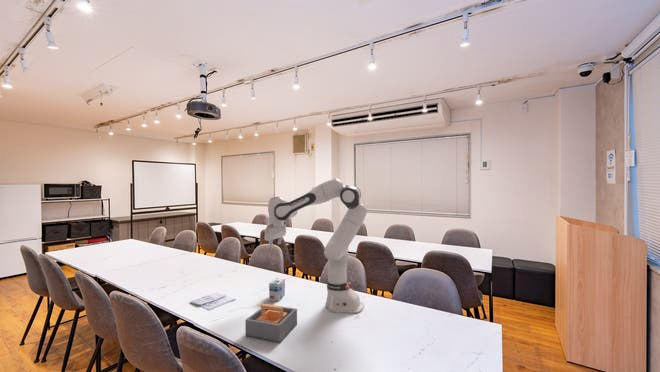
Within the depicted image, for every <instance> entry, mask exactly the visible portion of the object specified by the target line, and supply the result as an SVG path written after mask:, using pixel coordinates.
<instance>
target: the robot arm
mask: <svg viewBox="0 0 660 372" xmlns="http://www.w3.org/2000/svg"><path fill="white" fill-rule="evenodd" d="M361 197H362V193H361V189H360V188H358V187H357V186H356V185H344V184H343V182H342V180H340V179H339V178H333V179H329V180H327V181H323V182H322V183H320V184H318V185H317V186H315V187H313V188H312V189H311V190H309V191H307V192H306V193H304V194H303V195H301V196H299V197H298V198H294V199H293V200H291V201H288V200H286V199H284V198H282V197H281V196H276V197H275V196H274V197H270V198H269V200H268V204H267V213H268V218H267V226H266V227H265V229H264V241H266V242H268V244H269V248H274V246H275V245H274V240H276V239H278V241H277V245H281V244H282V239H283V237H286V233H287V221H286V220H288V219H291V218H294V217H295V216H296V215H297V214H298V211H299V210H301V209H303V208H305V207H309V206H313V205H321V204H324V203H327V202H329V201H331V200H334V199H335V198H340V201H341V202H342V204H343V205H345V207H346V208H347V211H346V213H345V214H344V216H343V218H342V220H341V221H340V223H339V225H338V226H337V229H336V230H335V231H334V233H333V234H332V236H331V237H330V239H329V240H328V242H327V244H326V245H325V247H324V251H323V255H324V257H325V258H326V260H328V265H327V281H326V290H327V293H326V294H327V296H326V301H325V308H327V309H328V310H329V311H330V312H331V313H345V314H347V313H349V314H350V313H351V314H359V313H361V312H362V311H363V309H364V307H365V303H364V301H361V300H360V295H359V294H358V293H357V292H356V291H355V290H354V289H352V288H351V282H350V281H347V268H348V267H347V265H348V258H349V246H350V245H351V243H352V241H353V240H354V239H355V237H356V235H357V234H358V232H359V230H360V228H361V226H362V224H363V222H364V221H365V218H366V216H367V214H368V213H367V212H368V209H367V207H366V205H364V204H363V203H361V200H360V199H361Z"/></svg>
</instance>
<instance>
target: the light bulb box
mask: <svg viewBox="0 0 660 372" xmlns="http://www.w3.org/2000/svg"><path fill="white" fill-rule="evenodd" d="M285 283H286V280H285V278H281V277H275V278H273V280H272V281H270V282H269V283H268V291H269V292H268V294H269V295H268V300H269V301H272V302H273V301H275V302H280V300H283V298H284V296H285V295H286V284H285Z"/></svg>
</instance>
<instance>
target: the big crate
mask: <svg viewBox="0 0 660 372" xmlns="http://www.w3.org/2000/svg"><path fill="white" fill-rule="evenodd" d="M267 310H270V309H265V312H266V311H267ZM273 311H276V310H273ZM283 312H286V313H288V315H287V316H286V317H285V318H284V319H283V320H282V321H281V322H280V323H279V324H276V323H270V322H264V321H258V320H256V319H257V318H259V317H260V316H261V308H260V309H258V310H256V311H255V312H254V313H253V314H251V315H249V317H247V318H246V319H245V321H244V322H245V338H248V337H249V339H254V340H259V341H265V342H271V343H275V342H276V343H277V344H281V343H282V342H283V341H284V340H285V338H286V337H288V335H289V334H290V333H291V332H292V331H293V330H294V329H295V328H296V326H297V325H298V309H297V308H295V307H287V306H283Z"/></svg>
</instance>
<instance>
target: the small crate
mask: <svg viewBox="0 0 660 372" xmlns="http://www.w3.org/2000/svg"><path fill="white" fill-rule="evenodd" d="M260 305H261V306H260V309H261V316H260V317H259V318H257V319H256V320H258V321H264V322H270V323H276V324H279V323H280V322H281V321H282V320H283V319H284V318H285V317H286V316H287V315H288V313H286V312H283V307H284V306H282V305H277V304H276V305H275V304H269V303H262V304H260ZM265 309H270V310H267V311H266V312H265ZM273 310H276V311H273Z"/></svg>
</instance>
